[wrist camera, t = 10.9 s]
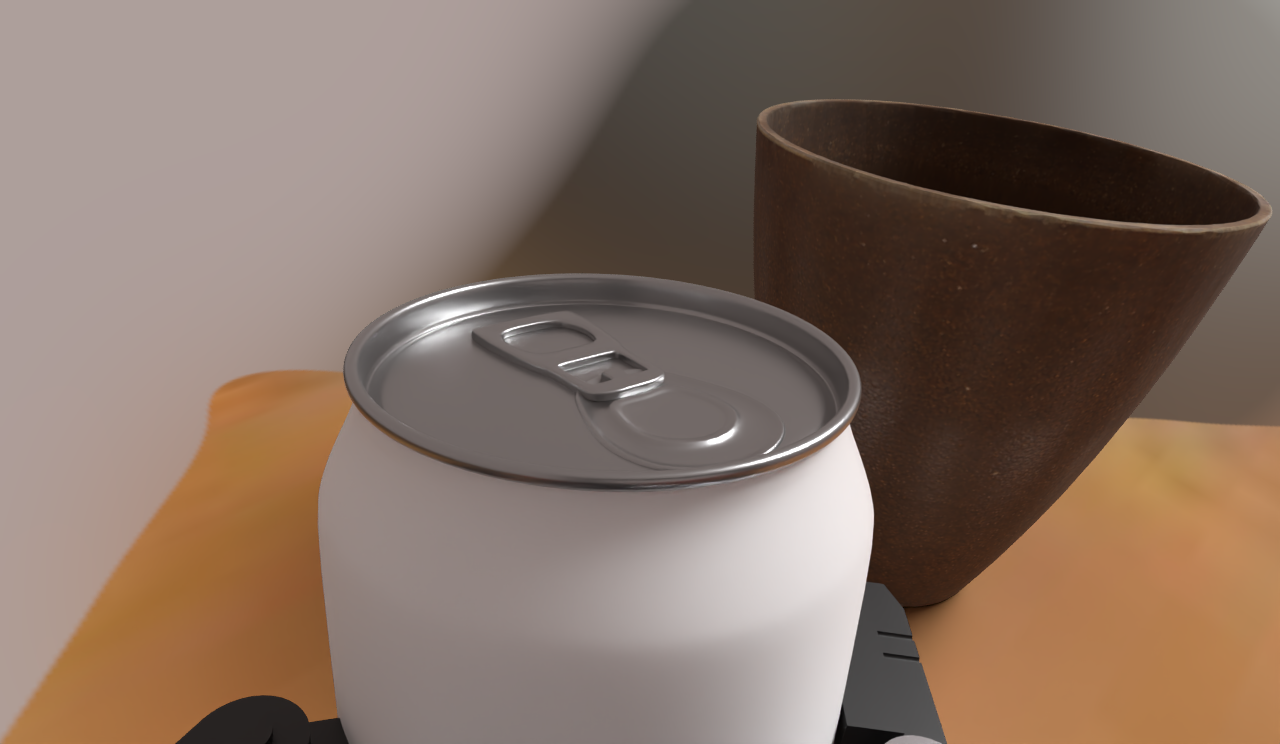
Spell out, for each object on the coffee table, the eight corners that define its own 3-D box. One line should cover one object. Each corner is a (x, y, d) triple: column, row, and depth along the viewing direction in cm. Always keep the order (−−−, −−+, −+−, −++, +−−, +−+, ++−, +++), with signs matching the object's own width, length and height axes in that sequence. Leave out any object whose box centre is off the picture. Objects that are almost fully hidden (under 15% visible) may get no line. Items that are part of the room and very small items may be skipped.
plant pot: (816, 745, 25) (983, 234, 17) (632, 463, 36) (681, 88, 29) (1155, 638, 30) (1393, 221, 23) (901, 424, 42) (1001, 103, 35)
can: (513, 1410, 10) (506, 623, 5) (319, 958, 14) (216, 311, 10) (847, 1035, 14) (1025, 384, 9) (612, 771, 18) (645, 243, 13)
